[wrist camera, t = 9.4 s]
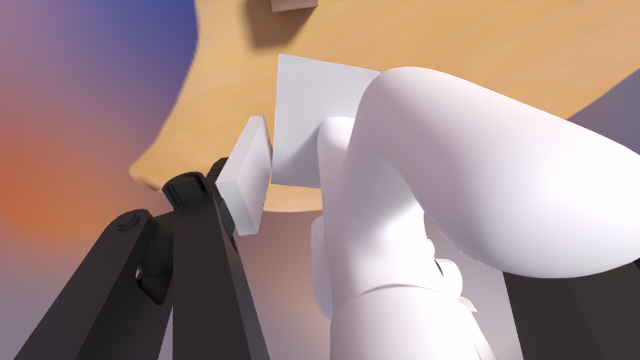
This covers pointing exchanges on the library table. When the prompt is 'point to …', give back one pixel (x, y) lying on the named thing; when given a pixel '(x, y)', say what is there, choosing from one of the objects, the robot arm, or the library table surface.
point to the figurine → (440, 200)
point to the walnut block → (292, 5)
